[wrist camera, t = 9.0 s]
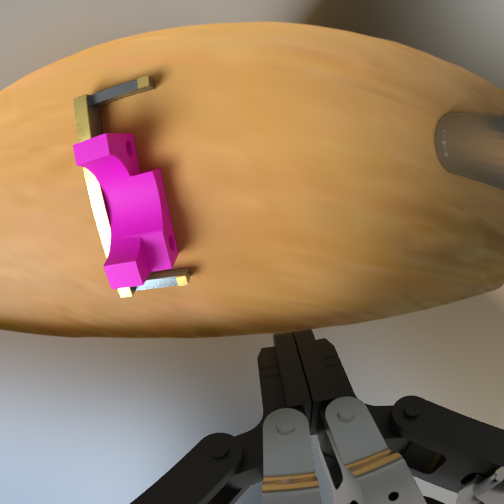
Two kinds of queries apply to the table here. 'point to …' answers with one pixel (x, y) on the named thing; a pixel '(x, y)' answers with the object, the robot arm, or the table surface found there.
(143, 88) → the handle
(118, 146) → the toy block
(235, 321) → the table surface
